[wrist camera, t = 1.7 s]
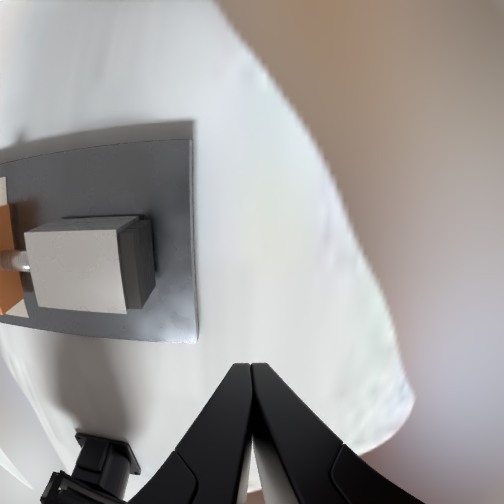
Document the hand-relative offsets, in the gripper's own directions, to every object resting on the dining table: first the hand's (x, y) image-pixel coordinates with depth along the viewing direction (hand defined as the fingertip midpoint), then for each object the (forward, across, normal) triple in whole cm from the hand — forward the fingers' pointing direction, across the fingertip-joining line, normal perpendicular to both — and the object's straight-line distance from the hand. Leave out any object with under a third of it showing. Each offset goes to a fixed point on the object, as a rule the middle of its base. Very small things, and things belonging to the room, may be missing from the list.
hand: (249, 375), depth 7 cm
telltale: (+11, +17, 0) cm, 20 cm away
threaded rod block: (+11, +11, 0) cm, 15 cm away
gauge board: (+12, +18, 0) cm, 22 cm away
